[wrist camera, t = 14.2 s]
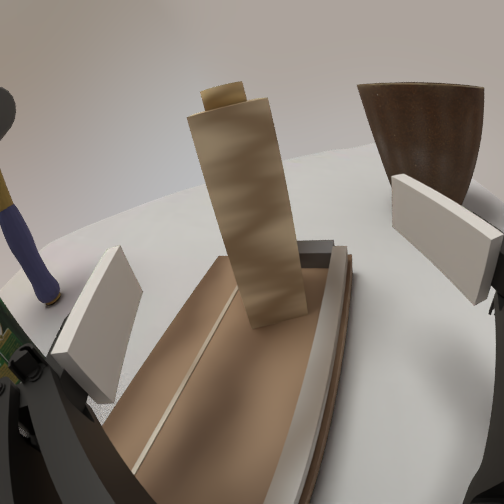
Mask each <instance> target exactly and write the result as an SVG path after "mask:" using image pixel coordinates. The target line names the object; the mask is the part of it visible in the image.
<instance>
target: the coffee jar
mask: <svg viewBox="0 0 504 504" xmlns="http://www.w3.org/2000/svg"><path fill="white" fill-rule="evenodd" d="M27 343H30V344H33V346H34V347H35V348H36V349H37V351H38V352H39V353H40V354H41V355H42V357H43V358H44V359H46V357H45V356H44V355H43V354H42V353H41V352H40V350H39V349H38V348H37V347H36V346H35V344H34V343H33V342H32V341H31V339H30V338H29V337H28V336H27V334H26V333H25V332H24V331H23V329H22V328H21V327H20V325H19V324H18V323H17V321H16V320H15V318H14V317H13V316H12V314H11V313H10V311H9V310H8V308H7V307H6V305H5V304H4V302H3V301H2V299H1V298H0V378H2V377H5V376H6V377H9V378H10V379H11V380H12V382H13V383H14V384H15V385H17V384H19V383H21V381H20V380H19V379H18V378H17V377H16V376H15V375H14V374H13V373H12V371H11V370H10V369H9V368H8V362H9V360H10V358H11V356H12V355H13V353H14V352H15V351H16V350H17V349H18V348H19V347H21V346H22V345H24V344H27ZM19 427H20V426H19Z"/></svg>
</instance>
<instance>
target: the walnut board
mask: <svg viewBox="0 0 504 504" xmlns="http://www.w3.org/2000/svg"><path fill="white" fill-rule="evenodd" d="M297 246H298V252H299V258H300V264H301V270H302V276H303V283H304V290H305V296H306V303H307V310H308V315H305V316H302V317H298V318H294V319H290V320H286V321H283V322H279V323H275V324H271V325H266V326H262V327H258V328H254V329H252V328H251V325H250V322H249V319H248V316H247V313H246V310H245V307H244V304H243V301H242V298H241V295H240V292H239V289H238V286H237V282H236V279H235V276H234V273H233V270H232V267H231V264H230V261H229V257H228V256H218V258H217V259H216V260H215V262H214V263H213V265H212V266H211V267H210V269H209V270H208V272H207V273H206V274H205V276H204V277H203V279H202V280H201V281H200V283H199V284H198V286H197V287H196V288H195V290H194V291H193V293H192V294H191V295H190V297H189V298H188V300H187V301H186V303H185V304H184V305H183V307H182V308H181V310H180V311H179V313H178V314H177V315H176V317H175V318H174V320H173V321H172V323H171V324H170V326H169V327H168V328H167V330H166V331H165V333H164V334H163V336H162V337H161V339H160V340H159V342H158V343H157V344H156V346H155V347H154V349H153V350H152V352H151V353H150V355H149V356H148V358H147V359H146V361H145V362H144V364H143V365H142V367H141V368H140V369H139V371H138V372H137V374H136V375H135V377H134V378H133V380H132V381H131V383H130V384H129V386H128V387H127V389H126V390H125V392H124V393H123V395H122V396H121V398H120V400H119V401H118V403H117V404H116V406H115V407H114V409H113V410H112V412H111V413H110V415H109V416H108V418H107V419H106V421H105V422H104V424H103V426H102V428H103V429H104V431H105V433H106V434H107V436H108V437H109V439H110V441H111V442H112V444H113V445H114V447H115V448H116V450H117V451H118V453H119V454H120V456H121V457H122V459H123V460H124V462H125V463H126V465H127V466H128V467H129V469H130V470H131V472H132V473H133V474H134V476H135V477H136V478H137V480H138V481H139V482H140V484H141V485H142V486H143V487H144V489H145V490H146V491H147V492H148V494H149V495H150V496H151V497H152V499H153V500H154V501H155V502H156V503H157V504H309V502H310V499H311V496H312V493H313V490H314V486H315V483H316V479H317V476H318V472H319V469H320V465H321V461H322V458H323V454H324V450H325V446H326V442H327V437H328V433H329V429H330V424H331V420H332V415H333V410H334V405H335V400H336V395H337V390H338V384H339V379H340V373H341V367H342V360H343V354H344V347H345V340H346V332H347V324H348V316H349V307H350V297H351V286H352V274H353V271H352V254H350V255H348V254H347V246H334V240H310V241H297Z"/></svg>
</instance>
